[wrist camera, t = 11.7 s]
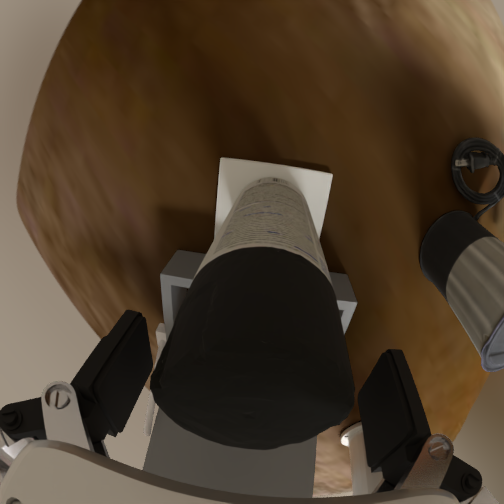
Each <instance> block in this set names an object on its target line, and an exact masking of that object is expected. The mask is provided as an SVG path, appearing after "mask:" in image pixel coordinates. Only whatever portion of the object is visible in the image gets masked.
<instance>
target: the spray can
mask: <svg viewBox="0 0 504 504" xmlns="http://www.w3.org/2000/svg"><path fill="white" fill-rule="evenodd" d="M150 390H151V392H152V395H153V398H154V401H155V403H156V404H157V405H158V406H159V407H160V408H161V410H162V411H163V412H164V413H165V414H166V415H167V416H168V417H169V418H170V419H171V420H172V421H173V422H174V423H176V424H177V425H179V426H180V427H182V428H183V429H185V430H187V431H189V432H191V433H193V434H195V435H198V436H200V437H202V438H204V439H206V440H209V441H212V442H215V443H219V444H222V445H224V446H230V447H236V448H243V449H253V450H271V449H276V448H278V447H281V446H285V445H289V444H297V443H302V442H304V441H307V440H309V439H311V438H313V437H315V436H317V435H318V434H319V433H321V432H323V431H325V430H327V429H328V428H330V427H332V426H336V425H340V423H341V422H342V421H343V420H344V419H346V418H347V416H348V415H349V413H350V411H351V410H352V408H353V406H354V392H355V387H354V382H353V376H352V371H351V366H350V361H349V356H348V351H347V346H346V341H345V336H344V331H343V326H342V322H341V317H340V312H339V308H338V303H337V299H336V295H335V292H334V289H333V285H332V282H331V278H330V274H329V271H328V267H327V264H326V261H325V258H324V254H323V251H322V248H321V244H320V241H319V238H318V234H317V231H316V228H315V225H314V222H313V219H312V216H311V213H310V210H309V207H308V204H307V201H306V199H305V197H304V195H303V194H302V192H301V191H300V190H299V189H298V188H297V187H296V186H295V185H294V184H292V183H291V182H289V181H287V180H284V179H281V178H277V177H266V178H261V179H258V180H255V181H253V182H251V183H250V184H249V185H247V186H246V187H245V188H244V189H243V190H242V191H241V193H240V194H239V196H238V197H237V199H236V201H235V203H234V204H233V206H232V208H231V210H230V212H229V214H228V215H227V217H226V219H225V221H224V223H223V224H222V226H221V228H220V230H219V232H218V233H217V235H216V237H215V239H214V241H213V243H212V245H211V246H210V248H209V250H208V252H207V254H206V256H205V258H204V259H203V261H202V263H201V265H200V267H199V269H198V271H197V273H196V275H195V276H194V279H193V281H192V283H191V285H190V287H189V289H188V291H187V294H186V296H185V298H184V300H183V302H182V304H181V306H180V308H179V310H178V313H177V316H176V319H175V322H174V325H173V328H172V330H171V332H170V334H169V337H168V340H167V342H166V344H165V346H164V348H163V349H162V352H161V354H160V357H159V359H158V361H157V364H156V367H155V369H154V371H153V373H152V375H151V380H150Z"/></svg>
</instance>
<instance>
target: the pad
mask: <svg viewBox="0 0 504 504" xmlns="http://www.w3.org/2000/svg"><path fill="white" fill-rule="evenodd" d="M332 176H333V174H332V173H327V172H322V171H316V170H311V169H305V168H299V167H293V166H286V165H280V164H273V163H265V162H258V161H250V160H241V159H232V158H223V157H222V158H220V168H219V180H218V192H217V205H216V219H215V234H214V239H215V237H216V235H217V233H218V232H219V230H220V228H221V226H222V224H223V223H224V221H225V219H226V217H227V215H228V214H229V212H230V210H231V208H232V206H233V204H234V203H235V201H236V199H237V197H238V196H239V194H240V193H241V191H242V190H243V189H244V188H245V187H246V186H247V185H249V184H250V183H251V182H253V181H255V180H258V179H261V178H266V177H277V178H281V179H284V180H287V181H289V182H291V183H292V184H294V185H295V186H296V187H297V188H298V189H299V190H300V191H301V192H302V194H303V195H304V197H305V199H306V201H307V204H308V207H309V210H310V213H311V216H312V219H313V222H314V225H315V228H316V231H317V234H318V238H320V234H321V230H322V225H323V220H324V216H325V211H326V206H327V202H328V197H329V192H330V187H331V181H332Z"/></svg>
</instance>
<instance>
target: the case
mask: <svg viewBox="0 0 504 504" xmlns="http://www.w3.org/2000/svg"><path fill="white" fill-rule="evenodd" d="M205 256H206V254H203V253H196V252H189V251H183V250H177V251H176V253H175V254H174V255H173V257H172V258H171V259H170V261H169V262H168V264H167V265H166V266H165V268H164V269H163V271H162V272H161V273H160V278H161V292H162V304H163V314H164V324H163V323H160V324H159V326H158V328H157V329H156V337H157V343H158V346H159V347H158V352H157V357H156V362H155V367H156V364H157V361H158V359H159V357H160V354H161V352H162V349H163V348H164V346H165V344H166V342H167V340H168V337H169V334H170V332H171V330H172V328H173V325H174V322H175V319H176V316H177V313H178V310H179V308H180V306H181V304H182V302H183V300H184V298H185V296H186V294H187V288H189V287H190V285H191V283H192V281H193V279H194V276H195V275H196V273H197V271H198V269H199V267H200V265H201V263H202V261H203V259H204V258H205ZM329 274H330V278H331V282H332V285H333V289H334V292H335V295H336V299H337V303H338V308H339V312H340V317H341V322H342V326H343V331H344V334H345V332H346V330H347V327H348V325H349V322H350V320H351V318H352V315H353V313H354V310H355V307H356V305H357V300H356V297H355V294H354V292H353V289H352V286H351V283H350V281H349V278H348V275H347V274H341V273H334V272H329ZM155 367H154V369H155ZM154 408H155V401H154V398H153V395H152V392H151V390H150V394H149V400H148V406H147V412H146V419H145V426H144V435H146V436H149V435H150V434H151V426H152V420H153V414H154ZM316 444H317V436H315V437H313V438H311V439H309V440H307V441H304V442H302V443H297V444H289V445H285V446H281V447H278V448H276V449H271V450H253V449H243V448H236V447H230V446H224V445H222V444H219V443H215V442H212V441H209V440H206V439H204V438H202V437H200V436H198V435H195V434H193V433H191V432H189V431H187V430H185V429H183V428H182V427H180V426H179V425H177V424H176V423H174V422H173V421H172V420H171V419H170V418H169V417H168V416H167V415H166V414H165V413H164V412H163V411H162V410H161V408H160V407H159V409H158V413H157V416H156V420H155V424H154V427H153V431H152V435H151V439H150V443H149V447H148V451H147V454H146V459H145V463H144V467H143V471H146V472H149V473H152V474H155V475H158V476H161V477H165V478H168V479H172V480H175V481H179V482H183V483H187V484H191V485H195V486H200V487H205V488H210V489H215V490H220V491H226V492H233V493H240V494H248V495H257V496H269V497H286V498H312V495H313V485H314V473H315V460H316Z"/></svg>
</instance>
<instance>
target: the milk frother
mask: <svg viewBox="0 0 504 504" xmlns="http://www.w3.org/2000/svg"><path fill="white" fill-rule="evenodd" d="M474 150H479V151H484V152H485V153H484V152H481V153H477V152H471V151H474ZM489 165H497V166H498V169H499V171H500V177H499V181H498V183H497V185H496V187H495V188H494V189H493V190H492V191H490V192H488V193H485V194H483V193H477V192H475V191H473V190H471V189H470V188H469V187H468V186H467V185H466V184H465V182H464V180H463V178H462V174H461V167H464V166H466V167H467V168H468V169H469V170H470V172H471V173H474V169H480V168H483V167H488V166H489ZM451 169H452V176H453V180H454V183H455V186H456V188H457V189H458V191H459V192H460V193H461V194H462V195H463V197H464V198H466V199H467V200H469V201H470V202H472V203H475V204H489V205H488V206H487V207H485V208H484V209H482V210H481V211H479V212H478V213H477V214H476V215H475V216H474V217H473V216H472V215H471V214H469V213H467V212H464V211H452V212H449V213H447V214H445V215H443V216H442V217H440V218H439V219H438V220H437V221H436V222H435V223H434V224H433V225H432V226H431V227H430V229H429V230H428V232H427V233H426V235H425V237H424V240H423V242H422V246H421V250H420V266H421V269H422V272H423V273H424V275H425V277H426V278H427V279H428V280H429V281H431V282H433V284H434V285H435V286H436V287H437V288H438V290H439V291H440V292H441V294H442V295H443V296H444V298H445V299H446V301H447V302H448V304H449V305H450V307H451V308H452V310H453V311H454V313H455V315H456V316H457V318H458V319H459V321H460V323H461V324H462V326H463V327H464V329H465V331H466V332H467V334H468V336H469V337H470V339H471V341H472V342H473V344H474V346H475V348H476V349H477V351H478V353H479V355H480V356H481V366H482V368H483V369H484V370H485V371H487V372H493V371H494V372H495V371H498V370H501V369H503V368H504V243H503V242H502V241H500V240H499V239H498V238H496V237H495V236H494V235H493V234H491V233H490V232H489V231H488V230H486V229H485V228H484V227H483V226H482V225H481V224H479V223H478V222H477V220H478V219H479V217H480V216H481V215H482V214H483V213H484V212H486V211H487V210H488V209H489V208H491V207H492V206H494V205H495V204H496V203H497V202H499V201H500V200H501V199H502V198H503V197H504V154H503V153H502V152H501V151H500V150H499V148H497V147H496V146H495V145H493V144H492V143H490V142H489V141H487V140H485V139H482V138H468V139H466V140H464V141H462V142H461V143H460V144H459V145H458V146H457V147H456V149H455V151H454V153H453V156H452V163H451Z"/></svg>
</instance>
